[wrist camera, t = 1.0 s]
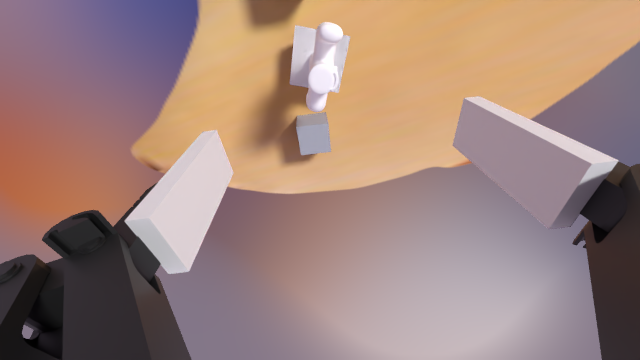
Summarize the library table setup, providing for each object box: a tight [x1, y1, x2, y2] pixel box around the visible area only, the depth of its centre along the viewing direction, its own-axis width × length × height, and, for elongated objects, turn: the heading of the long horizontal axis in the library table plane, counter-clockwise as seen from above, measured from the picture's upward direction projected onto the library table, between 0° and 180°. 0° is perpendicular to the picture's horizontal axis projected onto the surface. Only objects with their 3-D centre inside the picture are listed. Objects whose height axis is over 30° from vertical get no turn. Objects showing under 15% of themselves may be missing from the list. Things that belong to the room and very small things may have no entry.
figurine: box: [290, 22, 350, 112], centre depth 29 cm, size 7×9×15 cm
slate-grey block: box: [296, 112, 331, 155], centre depth 40 cm, size 5×5×5 cm
